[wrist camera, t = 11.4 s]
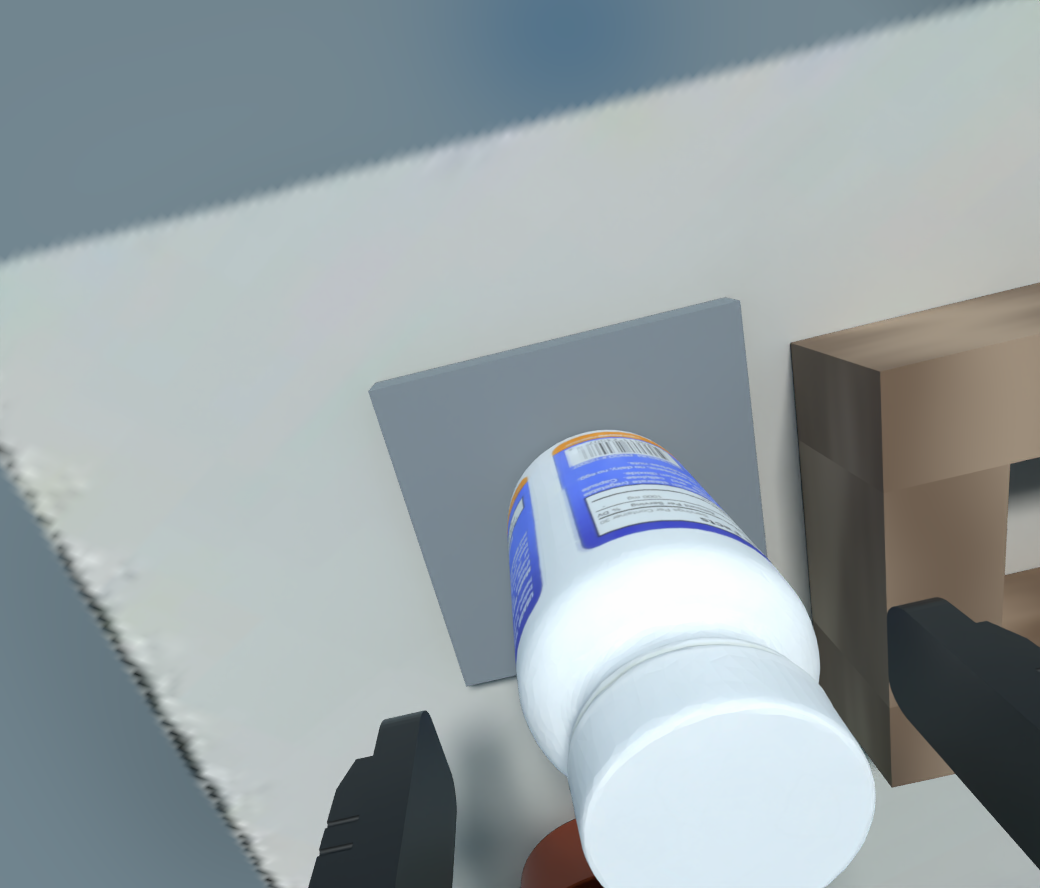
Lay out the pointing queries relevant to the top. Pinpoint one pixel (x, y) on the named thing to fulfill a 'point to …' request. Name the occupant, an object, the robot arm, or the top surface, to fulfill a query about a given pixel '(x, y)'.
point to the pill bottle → (675, 679)
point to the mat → (547, 421)
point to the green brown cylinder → (559, 862)
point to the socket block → (913, 492)
